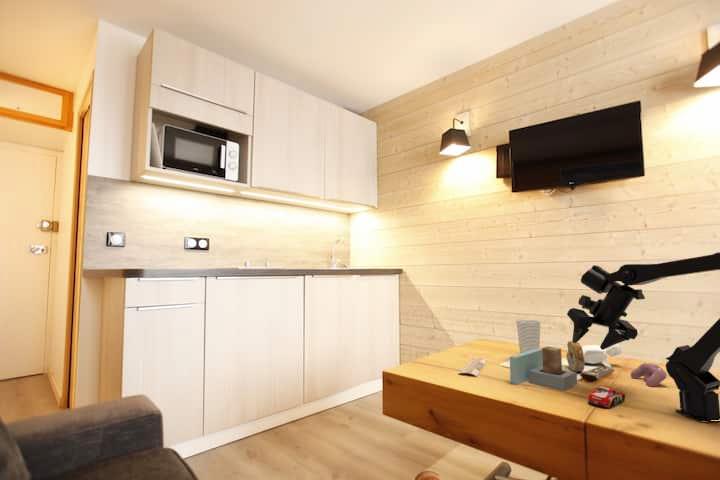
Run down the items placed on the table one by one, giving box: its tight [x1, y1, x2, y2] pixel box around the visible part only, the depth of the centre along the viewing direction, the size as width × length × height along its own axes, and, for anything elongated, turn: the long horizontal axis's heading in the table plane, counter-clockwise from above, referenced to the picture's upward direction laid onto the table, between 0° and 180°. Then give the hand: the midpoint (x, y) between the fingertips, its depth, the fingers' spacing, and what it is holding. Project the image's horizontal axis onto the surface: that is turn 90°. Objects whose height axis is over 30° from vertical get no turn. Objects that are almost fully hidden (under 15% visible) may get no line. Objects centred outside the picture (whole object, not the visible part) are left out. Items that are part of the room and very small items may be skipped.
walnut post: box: [542, 346, 563, 375], centre depth 109 cm, size 4×4×10 cm
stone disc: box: [565, 340, 585, 372], centre depth 124 cm, size 10×4×10 cm, turn 163°
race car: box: [587, 385, 626, 409], centre depth 94 cm, size 13×5×4 cm, turn 124°
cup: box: [515, 319, 541, 354], centre depth 135 cm, size 8×8×16 cm
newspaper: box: [457, 357, 488, 378], centre depth 127 cm, size 24×7×2 cm, turn 152°
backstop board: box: [509, 347, 543, 386], centre depth 115 cm, size 2×20×8 cm, turn 130°
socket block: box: [528, 366, 578, 392], centre depth 109 cm, size 10×10×4 cm
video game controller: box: [630, 362, 667, 388], centre depth 110 cm, size 10×5×7 cm, turn 169°
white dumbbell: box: [581, 343, 622, 369], centre depth 132 cm, size 9×8×15 cm
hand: (587, 345), depth 107 cm, fingers open, 9 cm apart
